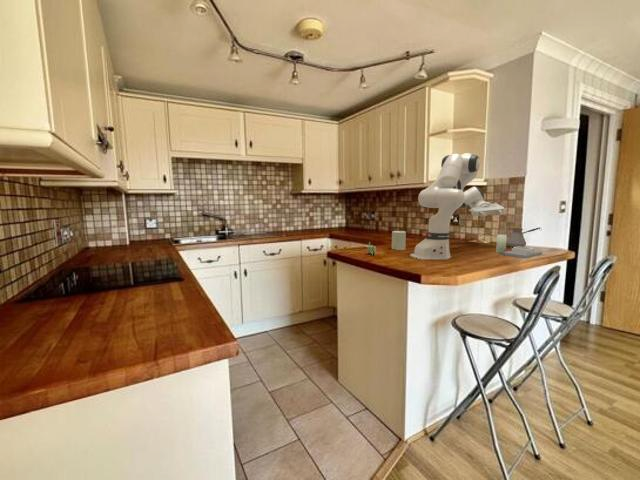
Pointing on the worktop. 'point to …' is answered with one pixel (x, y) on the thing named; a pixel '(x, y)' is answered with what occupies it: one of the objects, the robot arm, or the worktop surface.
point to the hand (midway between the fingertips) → (493, 214)
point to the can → (398, 240)
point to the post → (501, 243)
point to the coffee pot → (518, 237)
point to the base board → (522, 252)
